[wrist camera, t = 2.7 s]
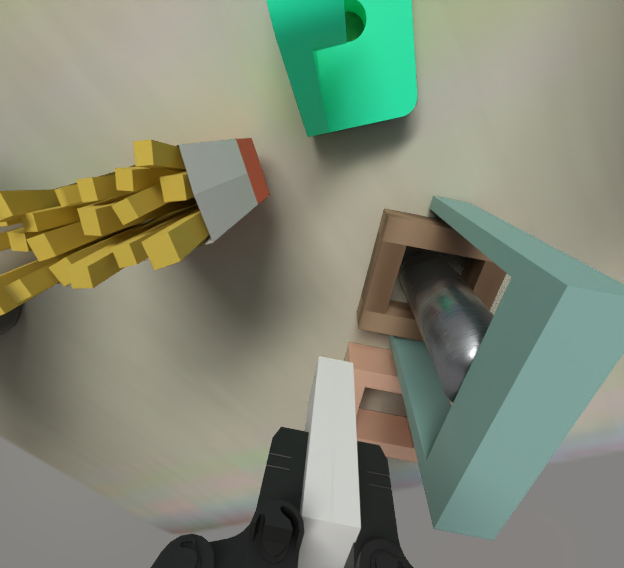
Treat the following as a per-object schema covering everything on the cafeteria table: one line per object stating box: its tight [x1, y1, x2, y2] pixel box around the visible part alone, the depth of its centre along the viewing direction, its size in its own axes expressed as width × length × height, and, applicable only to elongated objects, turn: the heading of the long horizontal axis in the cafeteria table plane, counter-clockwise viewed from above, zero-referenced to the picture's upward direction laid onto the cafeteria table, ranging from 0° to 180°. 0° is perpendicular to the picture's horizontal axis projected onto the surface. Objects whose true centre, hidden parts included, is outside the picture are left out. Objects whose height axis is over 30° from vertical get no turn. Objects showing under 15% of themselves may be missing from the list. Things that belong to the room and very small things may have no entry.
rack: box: [344, 342, 453, 463], centre depth 33 cm, size 10×10×4 cm
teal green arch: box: [389, 196, 624, 540], centre depth 21 cm, size 3×14×17 cm, turn 170°
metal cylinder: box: [400, 251, 493, 403], centre depth 23 cm, size 4×4×14 cm
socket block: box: [357, 209, 506, 341], centre depth 28 cm, size 10×10×3 cm
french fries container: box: [0, 138, 270, 315], centre depth 20 cm, size 5×11×18 cm, turn 106°
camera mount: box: [267, 0, 417, 137], centre depth 18 cm, size 12×8×10 cm, turn 11°
